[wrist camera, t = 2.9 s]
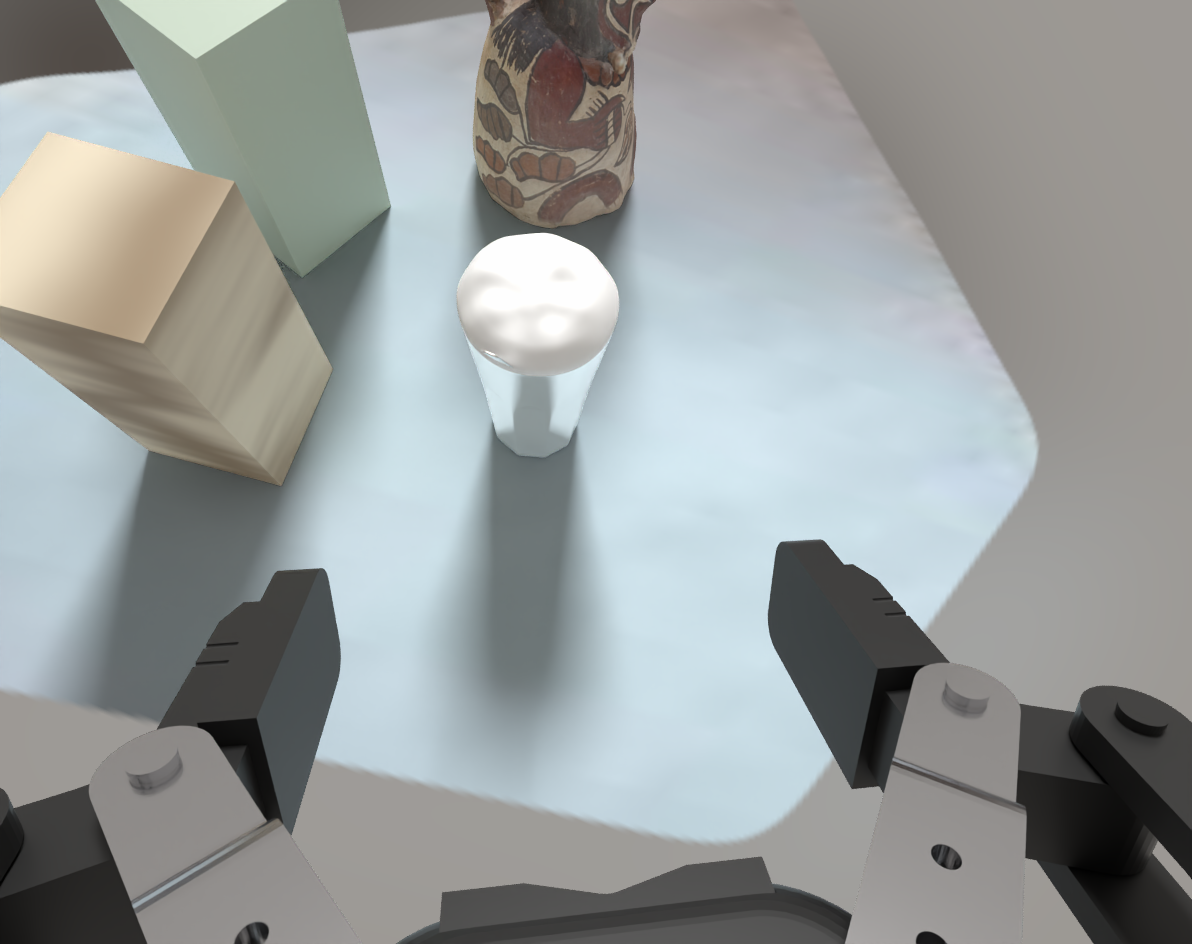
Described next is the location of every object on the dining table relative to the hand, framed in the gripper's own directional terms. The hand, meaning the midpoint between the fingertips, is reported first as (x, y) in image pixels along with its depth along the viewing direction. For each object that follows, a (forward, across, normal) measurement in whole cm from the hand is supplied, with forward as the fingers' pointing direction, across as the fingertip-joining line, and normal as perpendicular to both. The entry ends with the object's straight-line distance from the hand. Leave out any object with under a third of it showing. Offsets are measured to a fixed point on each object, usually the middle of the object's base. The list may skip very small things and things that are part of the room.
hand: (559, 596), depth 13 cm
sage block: (+23, +9, -5) cm, 25 cm away
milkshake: (+15, 0, +3) cm, 16 cm away
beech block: (+16, +11, +2) cm, 19 cm away
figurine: (+24, -2, -6) cm, 25 cm away
